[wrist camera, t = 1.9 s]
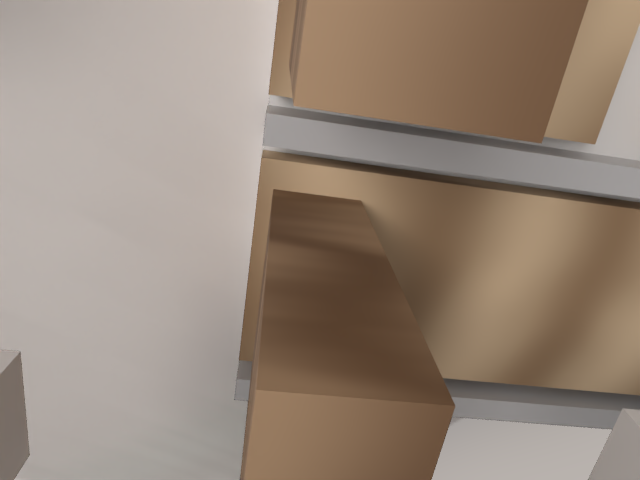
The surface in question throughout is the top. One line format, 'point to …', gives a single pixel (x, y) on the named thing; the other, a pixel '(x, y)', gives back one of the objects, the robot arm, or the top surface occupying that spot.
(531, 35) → the wooden bookend
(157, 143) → the top surface
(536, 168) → the board
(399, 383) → the tan wooden l-shaped piece
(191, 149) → the top surface
